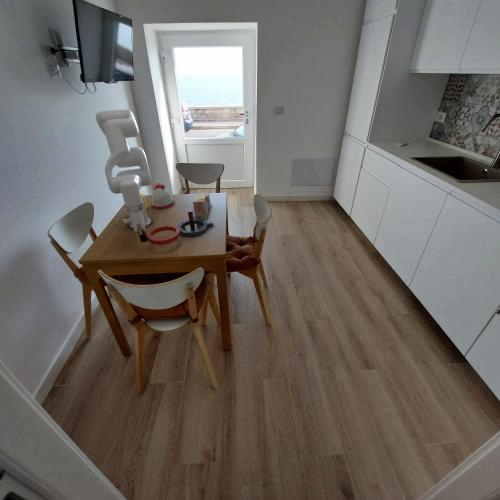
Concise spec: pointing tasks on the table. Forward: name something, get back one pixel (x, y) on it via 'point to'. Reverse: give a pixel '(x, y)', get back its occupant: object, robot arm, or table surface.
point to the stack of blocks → (201, 205)
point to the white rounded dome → (161, 197)
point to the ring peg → (192, 223)
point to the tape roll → (144, 202)
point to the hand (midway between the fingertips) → (144, 240)
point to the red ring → (166, 240)
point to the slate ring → (194, 233)
